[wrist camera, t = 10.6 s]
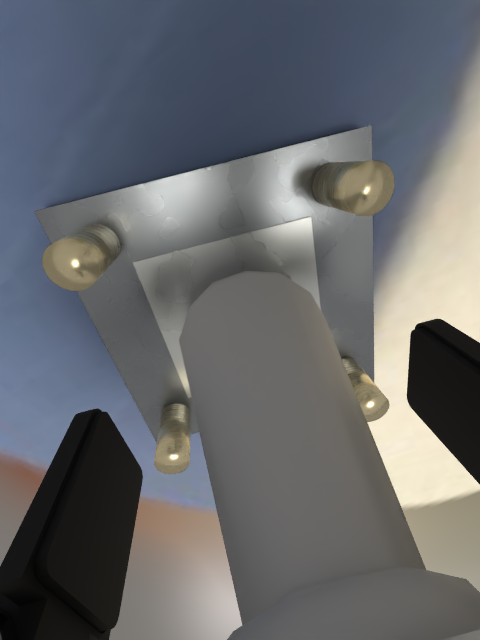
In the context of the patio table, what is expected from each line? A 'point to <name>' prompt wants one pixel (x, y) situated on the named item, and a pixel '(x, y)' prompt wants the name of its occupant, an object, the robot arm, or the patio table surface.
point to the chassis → (223, 262)
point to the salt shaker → (304, 478)
